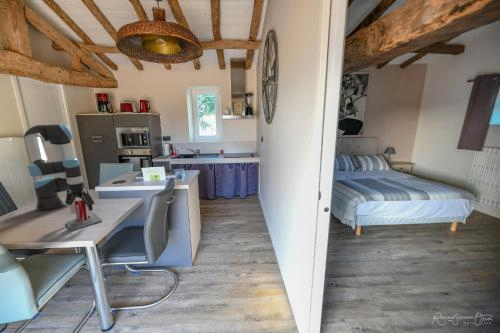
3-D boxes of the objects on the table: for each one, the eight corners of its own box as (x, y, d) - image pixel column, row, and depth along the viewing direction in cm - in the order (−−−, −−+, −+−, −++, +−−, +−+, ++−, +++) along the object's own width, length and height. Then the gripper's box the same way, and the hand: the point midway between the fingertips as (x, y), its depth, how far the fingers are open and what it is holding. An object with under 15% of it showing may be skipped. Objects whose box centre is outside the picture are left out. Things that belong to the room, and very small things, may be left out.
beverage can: (75, 223, 130) (70, 201, 127) (83, 218, 137) (78, 197, 133) (84, 223, 130) (79, 201, 127) (92, 218, 136) (87, 197, 133)
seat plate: (66, 223, 133) (65, 222, 133) (95, 214, 145) (95, 213, 144) (70, 231, 123) (70, 230, 122) (101, 221, 134) (101, 220, 134)
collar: (72, 221, 133) (71, 219, 133) (91, 216, 141) (91, 213, 140) (75, 226, 126) (74, 224, 126) (95, 220, 134) (95, 218, 133)
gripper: (53, 183, 127) (60, 215, 131) (85, 185, 121) (92, 218, 126) (66, 180, 134) (72, 210, 138) (97, 181, 129) (103, 212, 133)
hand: (82, 214), depth 132 cm, fingers open, 13 cm apart
